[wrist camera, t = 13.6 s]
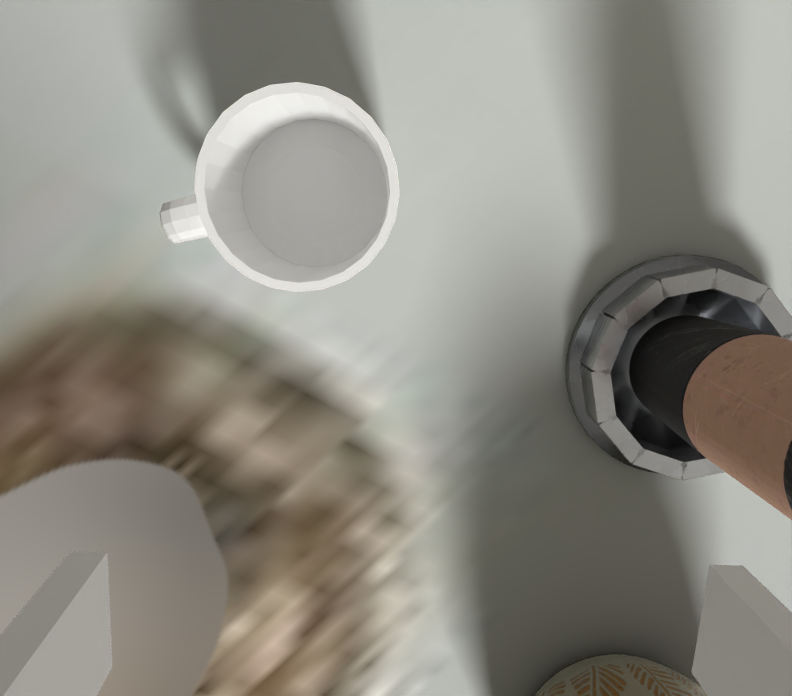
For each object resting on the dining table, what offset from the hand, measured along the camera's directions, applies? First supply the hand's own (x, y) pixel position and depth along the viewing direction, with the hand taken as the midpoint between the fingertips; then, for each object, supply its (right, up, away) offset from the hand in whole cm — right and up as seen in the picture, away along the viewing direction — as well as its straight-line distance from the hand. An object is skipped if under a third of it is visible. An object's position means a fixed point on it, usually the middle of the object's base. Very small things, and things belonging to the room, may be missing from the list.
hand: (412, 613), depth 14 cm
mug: (-7, +15, +28) cm, 33 cm away
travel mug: (+19, +5, +30) cm, 36 cm away
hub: (+19, +5, +31) cm, 36 cm away
